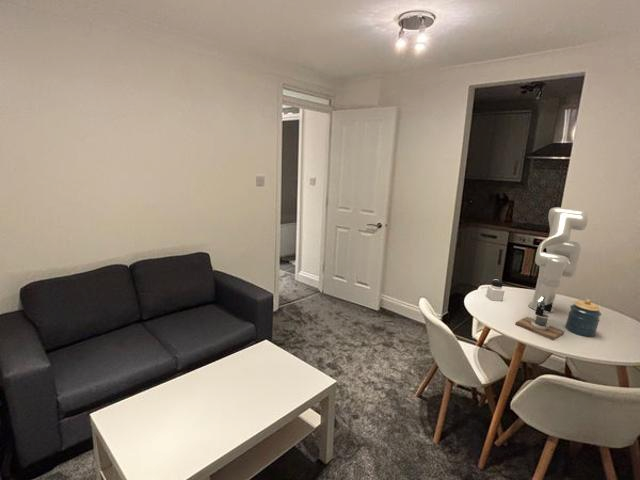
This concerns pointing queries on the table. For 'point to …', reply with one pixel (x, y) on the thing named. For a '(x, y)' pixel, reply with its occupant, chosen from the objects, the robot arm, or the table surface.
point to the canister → (583, 318)
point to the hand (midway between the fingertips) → (542, 313)
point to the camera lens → (541, 320)
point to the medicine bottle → (495, 290)
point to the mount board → (541, 332)
